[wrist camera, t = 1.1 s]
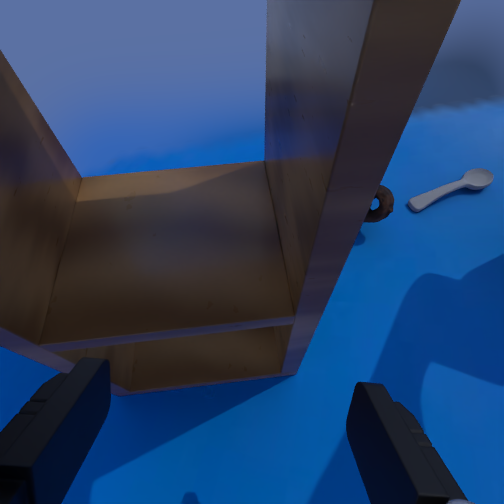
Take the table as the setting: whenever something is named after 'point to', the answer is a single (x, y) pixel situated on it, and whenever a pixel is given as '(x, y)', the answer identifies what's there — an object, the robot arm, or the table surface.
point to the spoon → (453, 188)
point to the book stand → (213, 212)
